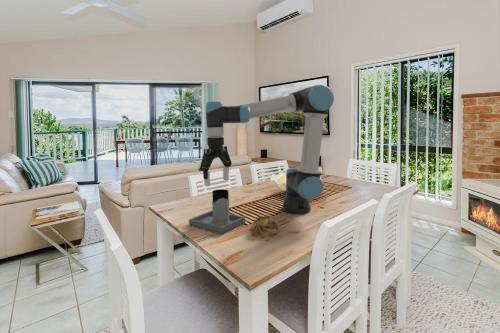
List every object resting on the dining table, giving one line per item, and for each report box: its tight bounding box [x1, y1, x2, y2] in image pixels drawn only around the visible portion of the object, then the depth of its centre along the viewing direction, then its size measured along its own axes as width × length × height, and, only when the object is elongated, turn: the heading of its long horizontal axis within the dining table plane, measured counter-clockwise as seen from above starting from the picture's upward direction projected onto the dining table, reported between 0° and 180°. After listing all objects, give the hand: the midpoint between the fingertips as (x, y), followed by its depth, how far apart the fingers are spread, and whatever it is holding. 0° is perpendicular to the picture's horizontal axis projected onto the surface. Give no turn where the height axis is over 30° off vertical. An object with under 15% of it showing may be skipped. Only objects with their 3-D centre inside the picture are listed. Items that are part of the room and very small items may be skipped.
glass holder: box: [211, 188, 230, 225], centre depth 142 cm, size 9×14×15 cm, turn 18°
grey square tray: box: [188, 210, 246, 235], centre depth 140 cm, size 20×17×3 cm
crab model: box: [248, 215, 280, 238], centre depth 132 cm, size 15×13×6 cm
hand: (217, 182), depth 137 cm, fingers open, 13 cm apart
